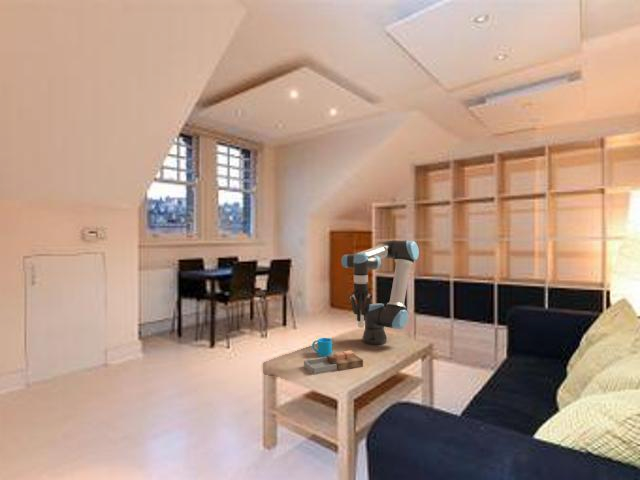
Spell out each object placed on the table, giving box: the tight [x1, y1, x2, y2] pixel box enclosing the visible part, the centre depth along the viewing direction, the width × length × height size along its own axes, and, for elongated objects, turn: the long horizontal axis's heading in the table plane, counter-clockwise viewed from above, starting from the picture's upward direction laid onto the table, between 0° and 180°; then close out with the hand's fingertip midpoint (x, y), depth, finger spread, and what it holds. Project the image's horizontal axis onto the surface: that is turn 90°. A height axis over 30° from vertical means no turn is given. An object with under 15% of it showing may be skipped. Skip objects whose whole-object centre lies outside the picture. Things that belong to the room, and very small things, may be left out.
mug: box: [311, 337, 333, 358], centre depth 222 cm, size 12×8×8 cm
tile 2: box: [342, 349, 356, 359], centre depth 207 cm, size 4×4×2 cm
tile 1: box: [333, 351, 345, 360], centre depth 205 cm, size 4×4×2 cm
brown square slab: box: [327, 353, 364, 372], centre depth 206 cm, size 14×14×4 cm
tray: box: [303, 357, 338, 375], centre depth 200 cm, size 13×12×3 cm
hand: (361, 326), depth 209 cm, fingers closed
